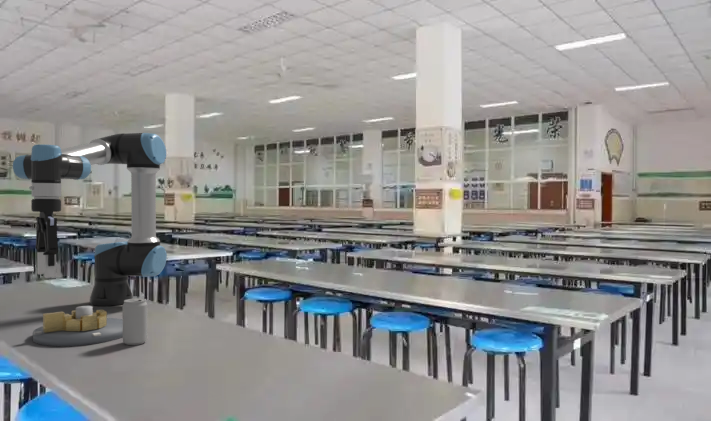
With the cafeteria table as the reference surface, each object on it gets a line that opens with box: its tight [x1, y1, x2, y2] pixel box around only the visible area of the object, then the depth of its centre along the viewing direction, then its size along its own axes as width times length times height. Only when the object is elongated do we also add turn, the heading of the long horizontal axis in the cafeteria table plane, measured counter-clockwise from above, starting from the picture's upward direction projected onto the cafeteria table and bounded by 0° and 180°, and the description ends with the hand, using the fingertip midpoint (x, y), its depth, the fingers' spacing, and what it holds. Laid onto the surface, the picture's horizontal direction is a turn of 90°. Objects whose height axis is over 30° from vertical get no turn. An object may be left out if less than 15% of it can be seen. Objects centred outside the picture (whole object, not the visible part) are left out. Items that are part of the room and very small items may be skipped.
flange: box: [32, 305, 123, 347], centre depth 159 cm, size 26×26×8 cm
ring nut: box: [42, 309, 108, 333], centre depth 157 cm, size 16×11×5 cm
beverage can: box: [122, 298, 148, 346], centre depth 150 cm, size 6×6×12 cm
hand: (46, 275), depth 157 cm, fingers open, 9 cm apart
